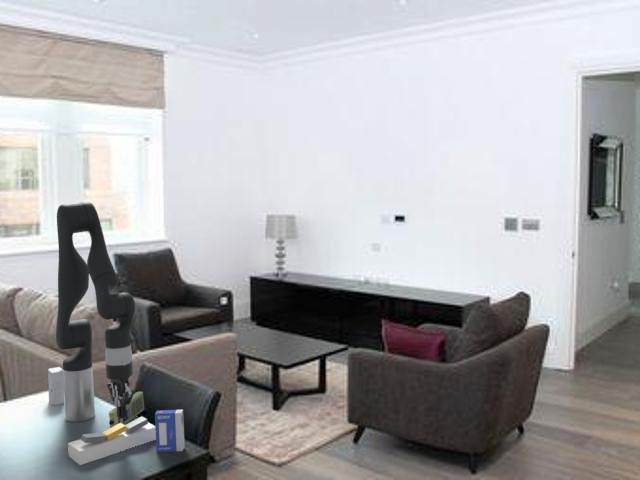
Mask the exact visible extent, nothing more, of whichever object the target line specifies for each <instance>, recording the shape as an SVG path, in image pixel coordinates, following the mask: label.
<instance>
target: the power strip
mask: <svg viewBox="0 0 640 480" xmlns="http://www.w3.org/2000/svg"><path fill="white" fill-rule="evenodd" d="M153 440H154V441H156V428H155V425H154V424H152V423H150V422H148V424H147V425H145V426H143V427H141V428H139V429H138V430H136V431H134V432H132V433H129V432H127V431H125V432H123V433H121V434H119V435H117V436H116V437H114V438H112V439H110V440H107V439H106V441H103V442H94V443H84V442H83V441H82V440H81V438H80V439H76V440H73V441H70V442H67V448H68V449H67V450H68V457H69V458H70V459H72V460H73V461H74V462H75V463H77V465H80V466H82V465H84V464H85V465H86V464H88V463H91V462H94V461H97V460H100V459H103V458H106V457H109V456H113V455H116V454H118V453H120V451H121V452H123V451H126V449H127V450H129V448H130V449H133V448H135V446H136V447H139V446H141V444H142V445H144V443H145V444H148V443H151V442H153ZM150 441H151V442H150ZM147 442H148V443H147ZM138 445H139V446H138ZM132 447H133V448H132Z"/></svg>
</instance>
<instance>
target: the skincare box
mask: <svg viewBox="0 0 640 480" xmlns="http://www.w3.org/2000/svg"><path fill="white" fill-rule="evenodd" d="M47 373H48V375H47V377H48V378H47V379H48V402H49V403H50V405H51V406H58V405H63V404H65V395H64V378H63V368H61V367H60V366H57V367H51V368H48V371H47Z"/></svg>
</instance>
